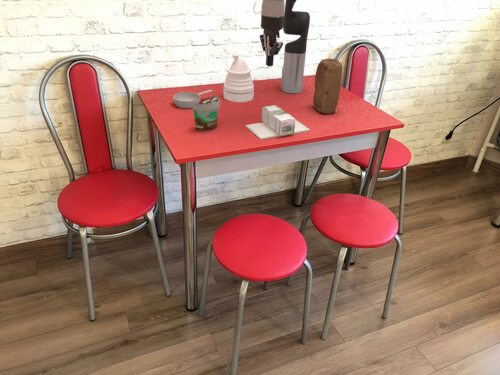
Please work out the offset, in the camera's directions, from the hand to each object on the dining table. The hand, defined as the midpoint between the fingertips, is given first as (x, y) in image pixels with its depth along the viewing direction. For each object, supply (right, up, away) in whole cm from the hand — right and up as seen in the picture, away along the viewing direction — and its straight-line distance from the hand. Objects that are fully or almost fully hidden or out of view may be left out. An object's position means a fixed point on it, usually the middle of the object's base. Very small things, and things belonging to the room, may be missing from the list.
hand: (269, 65), depth 148 cm
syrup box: (0, -15, +8) cm, 17 cm away
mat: (+3, -22, +5) cm, 22 cm away
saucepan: (-30, -9, +24) cm, 39 cm away
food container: (-21, -21, +4) cm, 30 cm away
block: (+23, -12, +23) cm, 34 cm away
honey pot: (-12, -4, +32) cm, 34 cm away
